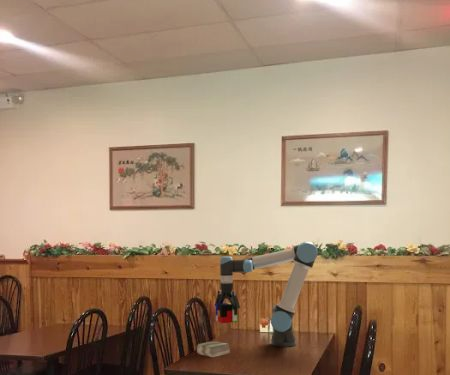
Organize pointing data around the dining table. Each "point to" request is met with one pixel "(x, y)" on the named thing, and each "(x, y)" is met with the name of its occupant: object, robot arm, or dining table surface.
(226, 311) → the puzzle toy
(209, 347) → the plinth
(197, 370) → the dining table surface
